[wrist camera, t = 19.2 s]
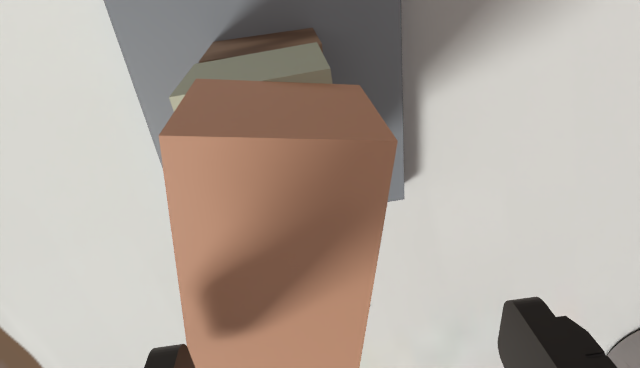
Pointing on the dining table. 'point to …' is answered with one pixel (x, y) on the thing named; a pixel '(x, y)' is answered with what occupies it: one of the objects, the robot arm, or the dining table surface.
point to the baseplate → (258, 19)
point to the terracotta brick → (276, 220)
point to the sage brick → (262, 68)
